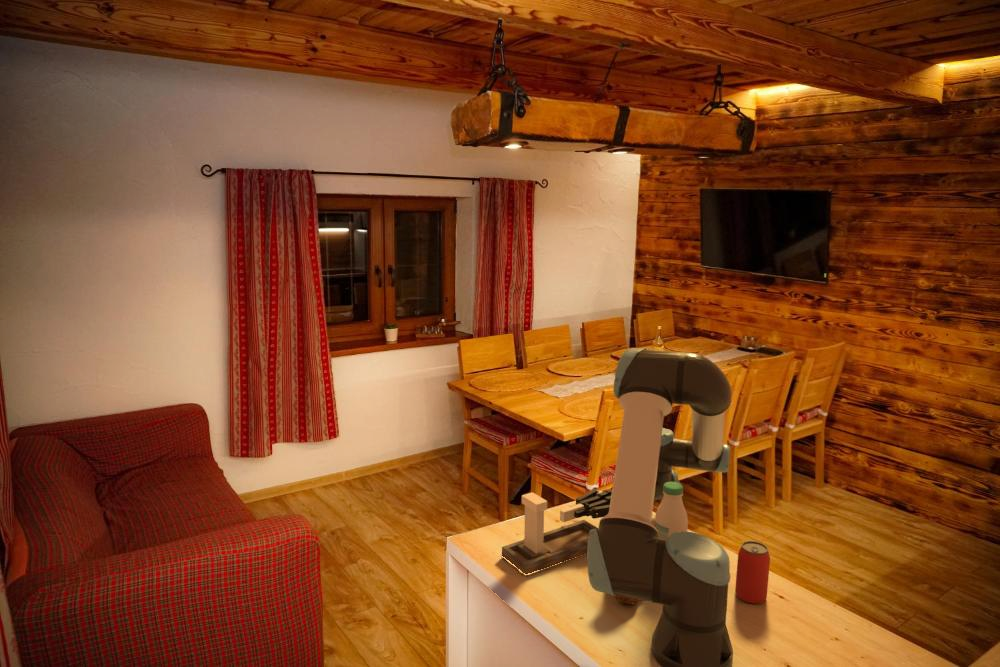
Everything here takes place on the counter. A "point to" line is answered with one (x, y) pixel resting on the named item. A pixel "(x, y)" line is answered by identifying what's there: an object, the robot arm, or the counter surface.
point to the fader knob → (533, 527)
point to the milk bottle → (671, 512)
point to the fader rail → (553, 547)
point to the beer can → (752, 572)
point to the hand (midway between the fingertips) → (561, 516)
